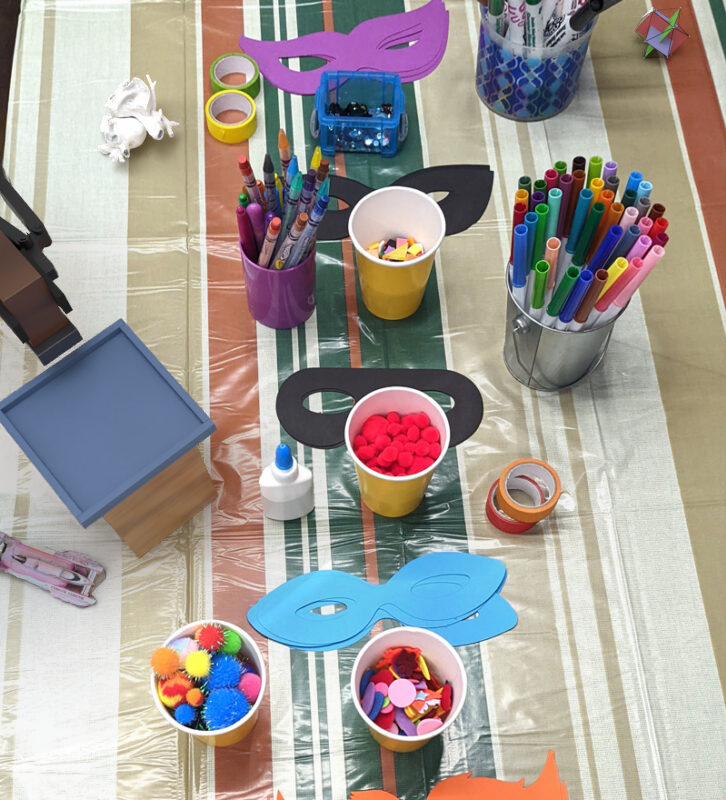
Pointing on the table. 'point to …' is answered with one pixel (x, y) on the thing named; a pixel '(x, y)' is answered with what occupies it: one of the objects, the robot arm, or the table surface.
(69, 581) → the pink toy racer
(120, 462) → the tray
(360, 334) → the table surface
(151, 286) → the table surface
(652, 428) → the table surface
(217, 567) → the table surface
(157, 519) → the wooden block
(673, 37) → the geometric puzzle
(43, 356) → the brown angled block
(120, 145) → the heart
